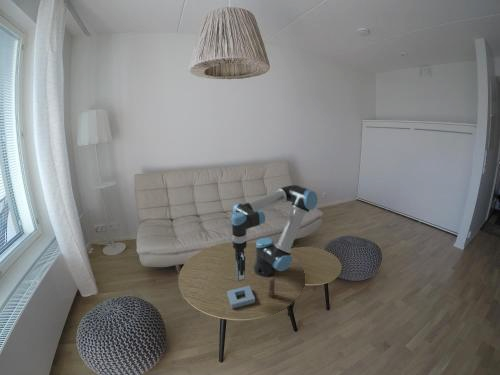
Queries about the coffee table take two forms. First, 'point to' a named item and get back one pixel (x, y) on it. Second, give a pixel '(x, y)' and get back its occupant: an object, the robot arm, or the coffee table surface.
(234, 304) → the bore block
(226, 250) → the coffee table surface
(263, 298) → the coffee table surface
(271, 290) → the walnut dowel
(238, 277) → the square bit
